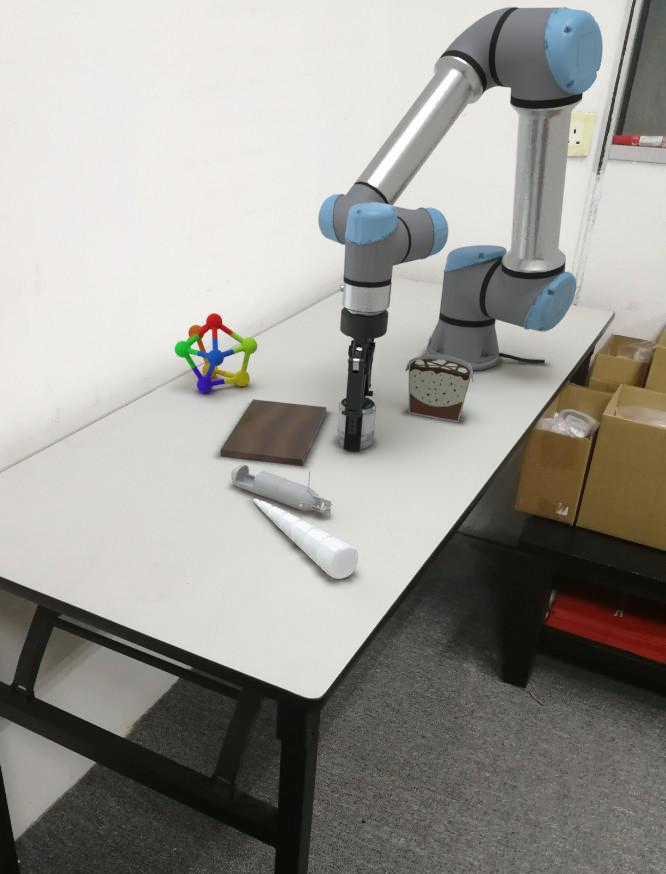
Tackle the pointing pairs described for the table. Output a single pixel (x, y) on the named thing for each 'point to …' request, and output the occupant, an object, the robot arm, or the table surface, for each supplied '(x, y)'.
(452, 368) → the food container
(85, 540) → the table surface
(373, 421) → the camera lens
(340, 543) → the unicorn horn
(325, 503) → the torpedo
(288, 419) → the walnut board
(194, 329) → the educational toy
